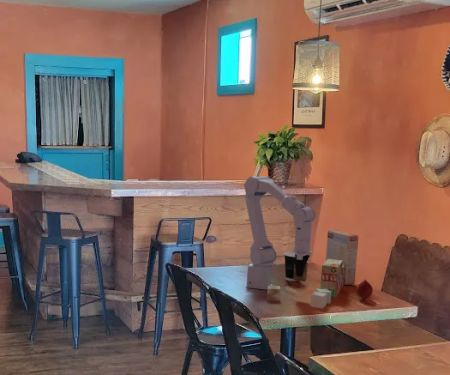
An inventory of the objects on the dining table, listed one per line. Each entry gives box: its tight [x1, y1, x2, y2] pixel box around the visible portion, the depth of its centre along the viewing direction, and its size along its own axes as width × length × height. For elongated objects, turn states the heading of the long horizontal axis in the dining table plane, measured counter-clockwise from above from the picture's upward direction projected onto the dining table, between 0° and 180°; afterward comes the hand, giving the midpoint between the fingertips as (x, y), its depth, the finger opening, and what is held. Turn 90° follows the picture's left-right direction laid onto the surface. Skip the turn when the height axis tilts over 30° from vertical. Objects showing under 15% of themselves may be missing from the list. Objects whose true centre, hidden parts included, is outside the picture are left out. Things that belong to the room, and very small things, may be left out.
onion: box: [356, 278, 373, 301], centre depth 234 cm, size 6×6×8 cm
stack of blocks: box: [319, 259, 345, 299], centre depth 245 cm, size 21×6×12 cm, turn 161°
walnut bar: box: [293, 263, 309, 282], centre depth 231 cm, size 4×4×6 cm
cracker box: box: [325, 229, 359, 286], centre depth 259 cm, size 14×6×21 cm, turn 26°
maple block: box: [266, 285, 281, 302], centre depth 229 cm, size 4×4×4 cm
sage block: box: [314, 288, 332, 305], centre depth 228 cm, size 4×4×4 cm
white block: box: [309, 291, 327, 309], centre depth 223 cm, size 4×4×4 cm
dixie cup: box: [283, 251, 297, 282], centre depth 259 cm, size 8×8×11 cm
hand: (300, 274), depth 231 cm, fingers closed on walnut bar, 4 cm apart
